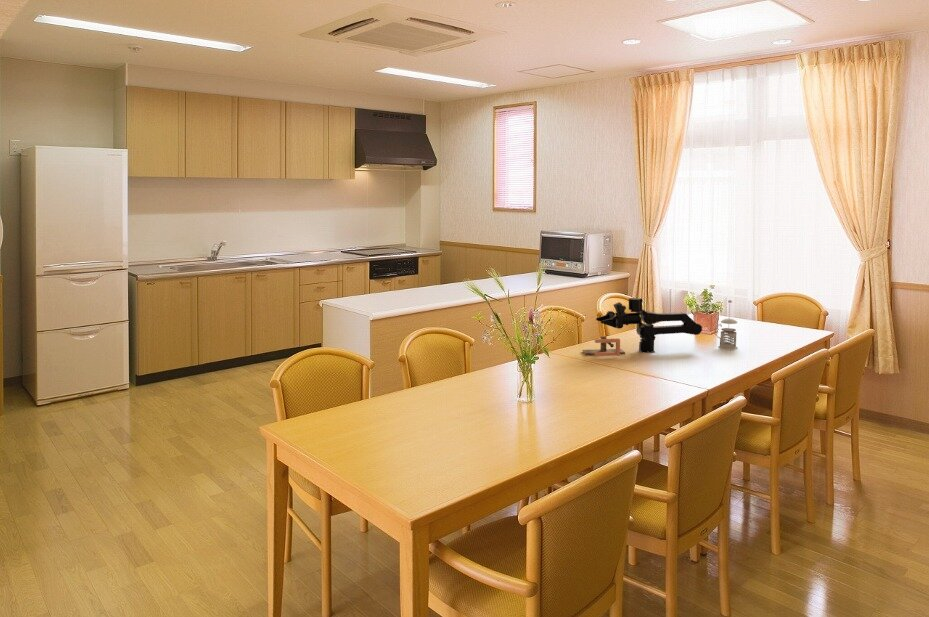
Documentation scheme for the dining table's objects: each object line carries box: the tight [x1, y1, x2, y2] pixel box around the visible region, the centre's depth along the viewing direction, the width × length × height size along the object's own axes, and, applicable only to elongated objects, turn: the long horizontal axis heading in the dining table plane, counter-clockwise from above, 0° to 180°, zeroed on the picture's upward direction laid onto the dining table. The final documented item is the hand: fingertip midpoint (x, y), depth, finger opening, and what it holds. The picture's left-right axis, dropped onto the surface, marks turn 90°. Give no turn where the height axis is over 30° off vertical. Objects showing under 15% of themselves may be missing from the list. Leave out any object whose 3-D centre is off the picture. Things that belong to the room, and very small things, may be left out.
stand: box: [581, 336, 626, 356], centre depth 349 cm, size 20×21×8 cm
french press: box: [714, 299, 738, 351], centre depth 364 cm, size 10×12×25 cm
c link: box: [593, 338, 621, 357], centre depth 345 cm, size 12×2×8 cm, turn 93°
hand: (598, 320), depth 355 cm, fingers open, 9 cm apart
